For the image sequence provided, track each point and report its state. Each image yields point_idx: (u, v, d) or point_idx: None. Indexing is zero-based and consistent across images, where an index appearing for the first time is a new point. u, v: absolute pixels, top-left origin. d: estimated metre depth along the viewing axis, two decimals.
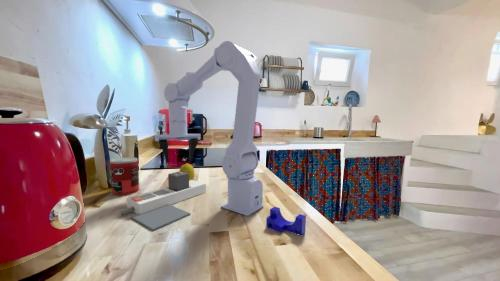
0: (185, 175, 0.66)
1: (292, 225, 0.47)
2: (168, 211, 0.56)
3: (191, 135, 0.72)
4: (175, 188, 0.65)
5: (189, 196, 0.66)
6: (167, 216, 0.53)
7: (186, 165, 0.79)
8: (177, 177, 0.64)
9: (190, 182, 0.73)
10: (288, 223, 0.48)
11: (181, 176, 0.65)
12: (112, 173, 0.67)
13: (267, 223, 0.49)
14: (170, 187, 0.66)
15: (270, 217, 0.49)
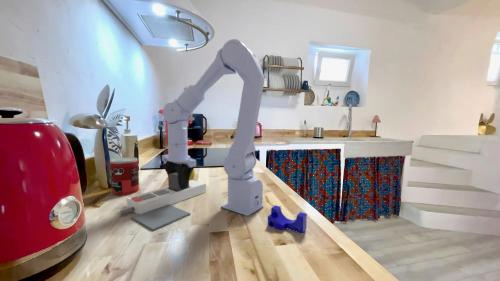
0: None
1: (293, 223, 0.48)
2: (168, 211, 0.56)
3: (181, 161, 0.62)
4: (175, 188, 0.65)
5: (189, 196, 0.66)
6: (167, 216, 0.53)
7: None
8: (177, 177, 0.64)
9: (190, 182, 0.73)
10: (289, 221, 0.49)
11: None
12: (112, 173, 0.67)
13: (268, 222, 0.50)
14: (170, 187, 0.66)
15: (271, 216, 0.50)
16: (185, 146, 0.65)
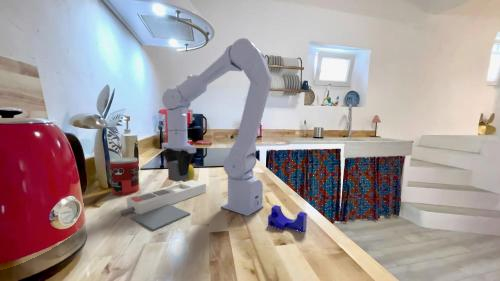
0: None
1: (294, 223, 0.48)
2: (168, 211, 0.56)
3: (181, 147, 0.62)
4: (174, 175, 0.64)
5: (189, 196, 0.66)
6: (167, 216, 0.53)
7: None
8: (177, 164, 0.63)
9: (190, 182, 0.73)
10: (289, 221, 0.50)
11: None
12: (112, 173, 0.67)
13: (269, 221, 0.50)
14: (170, 175, 0.66)
15: (272, 215, 0.50)
16: (185, 133, 0.64)
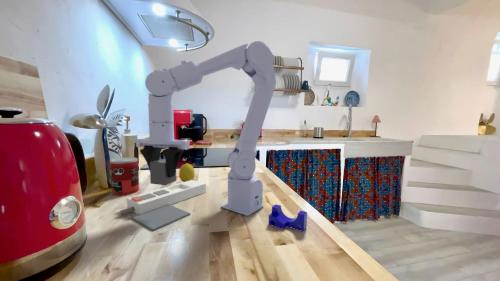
0: None
1: (294, 221, 0.48)
2: (168, 211, 0.56)
3: (170, 142, 0.51)
4: (161, 178, 0.53)
5: (189, 196, 0.66)
6: (167, 216, 0.53)
7: (186, 165, 0.79)
8: (165, 164, 0.52)
9: (190, 182, 0.73)
10: (290, 220, 0.50)
11: None
12: (112, 173, 0.67)
13: (269, 221, 0.50)
14: (153, 178, 0.53)
15: (272, 215, 0.50)
16: (172, 126, 0.53)
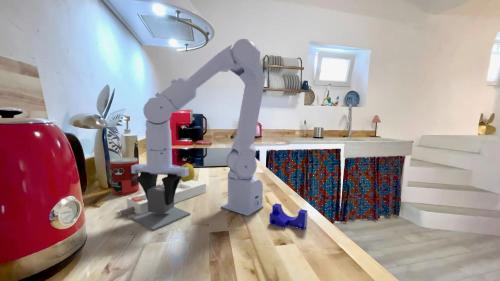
0: None
1: (295, 220, 0.49)
2: (168, 211, 0.56)
3: (170, 170, 0.50)
4: (160, 206, 0.51)
5: (189, 196, 0.66)
6: (167, 216, 0.53)
7: (186, 165, 0.79)
8: (164, 192, 0.51)
9: (190, 182, 0.73)
10: (290, 218, 0.51)
11: None
12: (112, 173, 0.67)
13: (270, 219, 0.51)
14: (151, 206, 0.52)
15: (273, 213, 0.51)
16: (171, 152, 0.52)
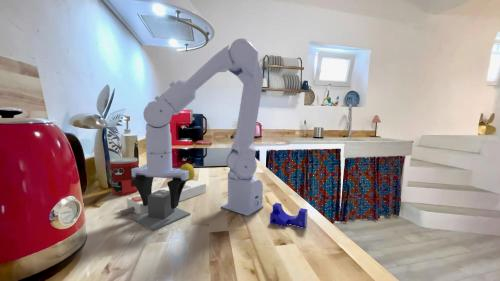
0: None
1: (295, 219, 0.50)
2: None
3: (170, 174, 0.50)
4: (160, 212, 0.52)
5: (189, 196, 0.66)
6: None
7: (186, 165, 0.79)
8: (164, 198, 0.51)
9: (190, 182, 0.73)
10: (290, 217, 0.51)
11: (167, 196, 0.53)
12: (112, 173, 0.67)
13: (271, 219, 0.51)
14: (151, 212, 0.52)
15: (273, 213, 0.51)
16: (171, 155, 0.52)
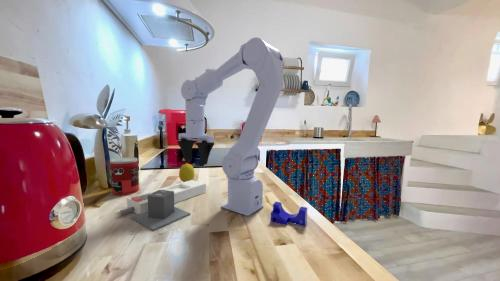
0: (171, 194, 0.54)
1: (295, 217, 0.51)
2: None
3: (199, 136, 0.64)
4: (160, 212, 0.52)
5: (189, 196, 0.66)
6: None
7: (186, 165, 0.79)
8: (164, 198, 0.51)
9: (190, 182, 0.73)
10: (291, 216, 0.52)
11: (167, 196, 0.53)
12: (112, 173, 0.67)
13: (271, 217, 0.52)
14: (151, 212, 0.52)
15: (274, 212, 0.52)
16: (202, 123, 0.67)
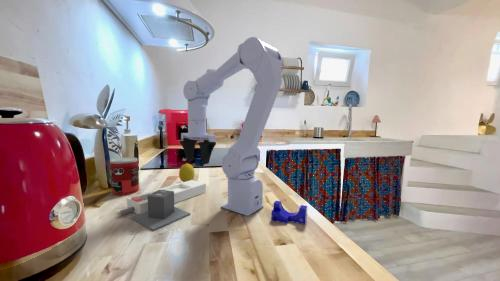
0: (171, 194, 0.54)
1: (296, 215, 0.52)
2: None
3: (201, 136, 0.65)
4: (160, 212, 0.52)
5: (189, 196, 0.66)
6: None
7: (186, 165, 0.79)
8: (164, 198, 0.51)
9: (190, 182, 0.73)
10: (291, 214, 0.53)
11: (167, 196, 0.53)
12: (112, 173, 0.67)
13: (272, 216, 0.53)
14: (151, 212, 0.52)
15: (274, 210, 0.53)
16: (204, 123, 0.68)
